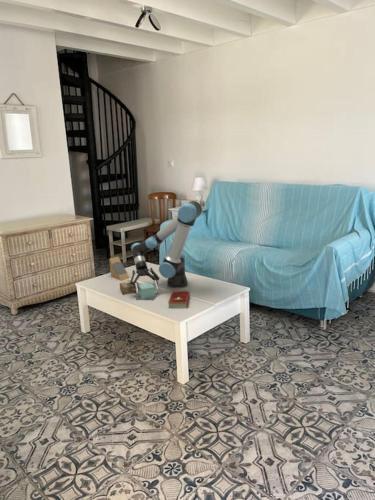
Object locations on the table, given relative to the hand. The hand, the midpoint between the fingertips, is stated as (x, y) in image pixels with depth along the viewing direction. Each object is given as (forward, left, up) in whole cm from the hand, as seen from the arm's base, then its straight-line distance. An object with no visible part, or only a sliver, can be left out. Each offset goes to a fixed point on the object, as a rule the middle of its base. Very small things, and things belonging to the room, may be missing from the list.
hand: (147, 291), depth 266 cm
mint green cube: (+1, -2, -4) cm, 5 cm away
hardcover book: (-22, +5, -5) cm, 24 cm away
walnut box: (+16, -12, -5) cm, 21 cm away
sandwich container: (+33, -41, -5) cm, 52 cm away
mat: (+1, -2, -5) cm, 5 cm away
